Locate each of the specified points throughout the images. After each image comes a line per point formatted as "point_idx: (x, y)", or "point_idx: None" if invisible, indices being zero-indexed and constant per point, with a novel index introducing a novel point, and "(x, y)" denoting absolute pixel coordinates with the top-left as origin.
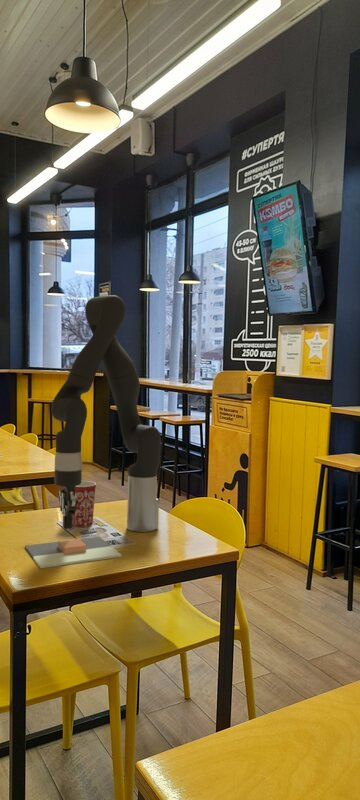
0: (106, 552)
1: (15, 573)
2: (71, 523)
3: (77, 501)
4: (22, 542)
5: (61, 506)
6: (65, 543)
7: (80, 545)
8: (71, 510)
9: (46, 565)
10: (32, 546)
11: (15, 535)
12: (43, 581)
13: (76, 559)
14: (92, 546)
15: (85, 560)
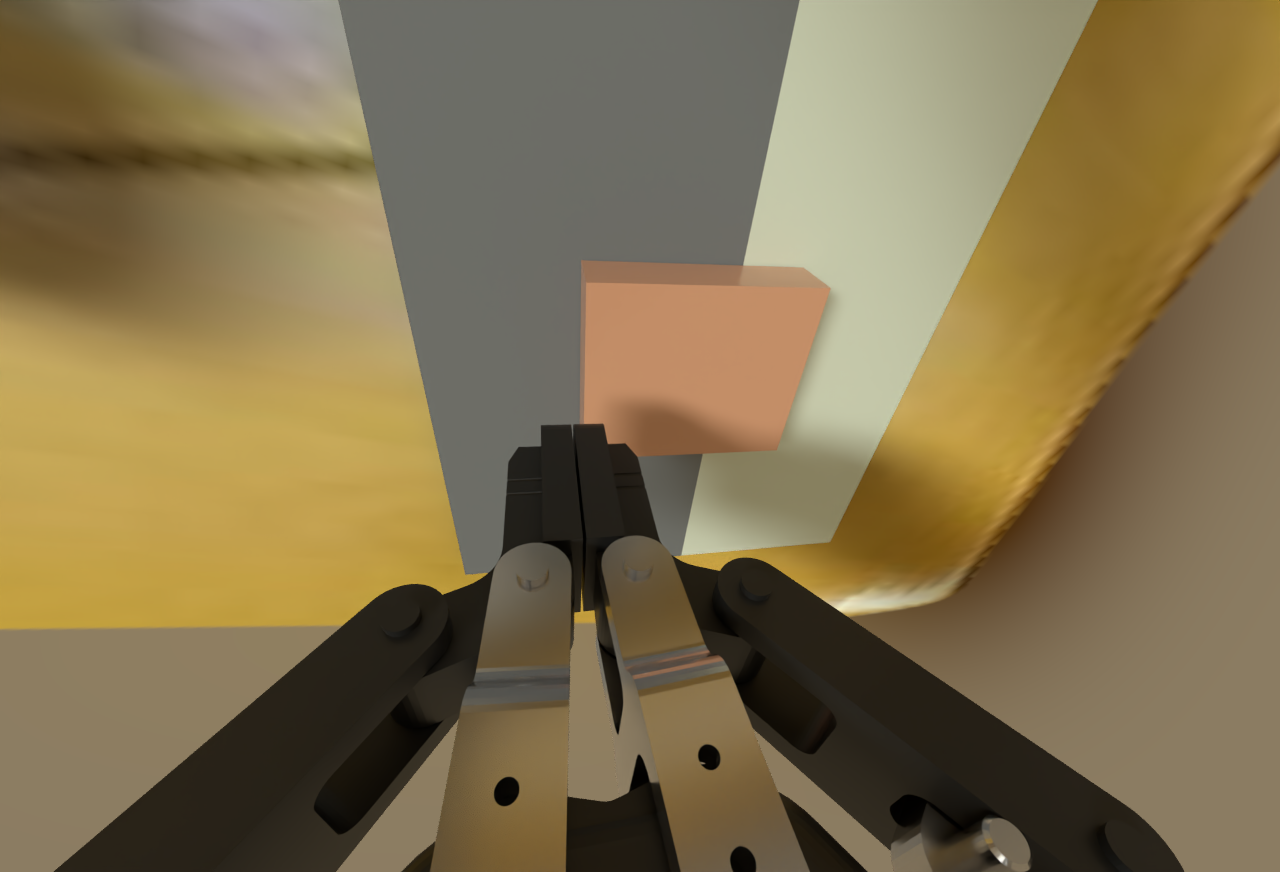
0: (949, 83)
1: None
2: (611, 459)
3: (1161, 865)
4: (338, 567)
5: (433, 747)
6: (683, 426)
7: (801, 336)
8: (677, 630)
9: (840, 520)
10: (497, 545)
11: (133, 591)
12: (955, 537)
13: (886, 380)
14: (704, 144)
15: (931, 327)
